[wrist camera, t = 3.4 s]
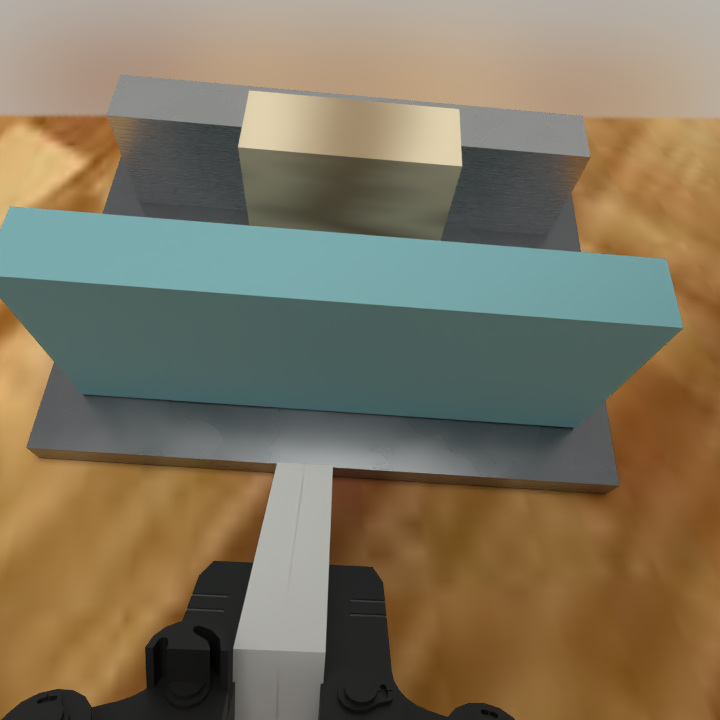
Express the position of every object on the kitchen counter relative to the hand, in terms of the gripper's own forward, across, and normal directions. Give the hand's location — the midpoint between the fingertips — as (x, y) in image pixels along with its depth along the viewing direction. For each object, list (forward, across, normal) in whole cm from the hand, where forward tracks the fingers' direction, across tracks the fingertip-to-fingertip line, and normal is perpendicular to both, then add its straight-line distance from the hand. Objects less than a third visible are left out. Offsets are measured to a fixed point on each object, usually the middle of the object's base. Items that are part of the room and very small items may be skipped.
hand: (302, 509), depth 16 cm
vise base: (+13, +1, +3) cm, 13 cm away
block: (+14, +1, +6) cm, 15 cm away
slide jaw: (+9, +1, +1) cm, 9 cm away
